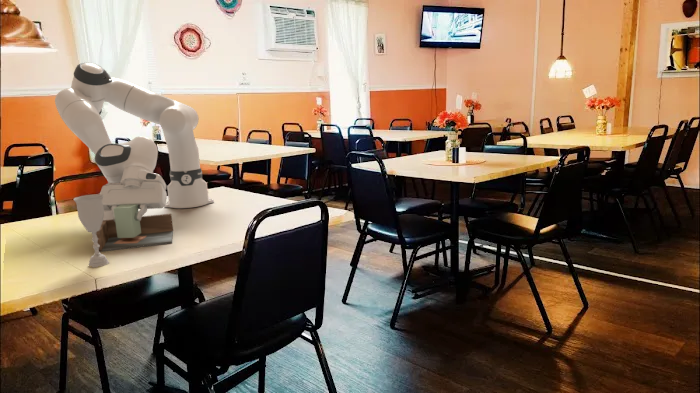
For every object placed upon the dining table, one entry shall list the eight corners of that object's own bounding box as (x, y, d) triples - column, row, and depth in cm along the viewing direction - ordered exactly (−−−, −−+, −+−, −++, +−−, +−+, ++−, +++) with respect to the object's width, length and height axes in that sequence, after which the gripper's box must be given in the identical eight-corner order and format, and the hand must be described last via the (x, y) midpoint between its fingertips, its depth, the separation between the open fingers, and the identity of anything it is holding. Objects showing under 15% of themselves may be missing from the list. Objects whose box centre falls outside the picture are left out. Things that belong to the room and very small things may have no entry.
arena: (105, 239, 161) (102, 220, 160) (173, 231, 167) (171, 213, 165) (97, 252, 148) (94, 231, 147) (171, 243, 153) (169, 223, 152)
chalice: (98, 258, 142) (88, 194, 138) (119, 260, 140) (109, 194, 136) (77, 267, 135) (66, 199, 131) (99, 269, 133) (88, 200, 129)
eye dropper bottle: (110, 233, 168) (104, 196, 166) (95, 232, 170) (89, 196, 167) (118, 229, 172) (114, 194, 170) (104, 229, 174) (99, 193, 171)
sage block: (125, 233, 159) (121, 204, 157) (141, 232, 159) (137, 204, 157) (117, 238, 154) (113, 208, 152) (134, 237, 154) (130, 207, 152)
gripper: (99, 177, 160) (87, 215, 152) (164, 174, 159) (156, 213, 152) (107, 188, 165) (97, 226, 158) (171, 186, 165) (163, 224, 157)
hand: (126, 220), depth 155 cm, fingers closed on sage block, 5 cm apart
